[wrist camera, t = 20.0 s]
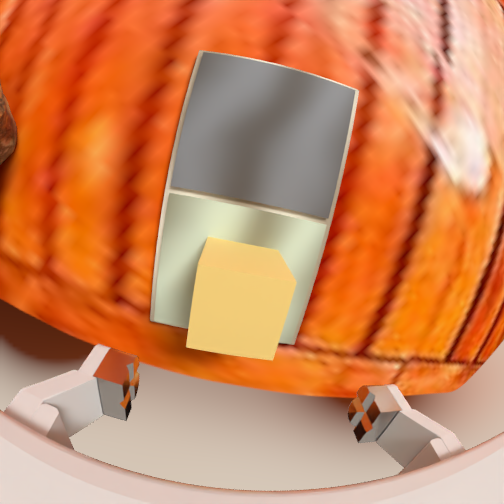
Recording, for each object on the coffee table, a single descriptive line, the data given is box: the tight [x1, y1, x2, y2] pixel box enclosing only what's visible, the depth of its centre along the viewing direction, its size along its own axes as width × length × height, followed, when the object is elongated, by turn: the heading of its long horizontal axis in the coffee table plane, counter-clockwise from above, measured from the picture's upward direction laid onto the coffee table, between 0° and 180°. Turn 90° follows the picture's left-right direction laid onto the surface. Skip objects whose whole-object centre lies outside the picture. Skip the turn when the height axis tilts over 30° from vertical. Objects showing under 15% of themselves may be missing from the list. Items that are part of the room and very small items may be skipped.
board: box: [150, 50, 359, 345], centre depth 19 cm, size 12×21×1 cm, turn 168°
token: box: [186, 237, 297, 360], centre depth 17 cm, size 5×5×6 cm
